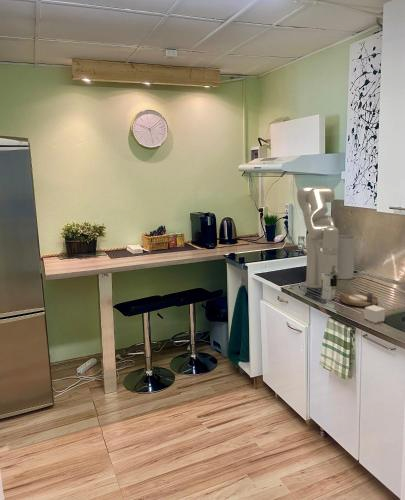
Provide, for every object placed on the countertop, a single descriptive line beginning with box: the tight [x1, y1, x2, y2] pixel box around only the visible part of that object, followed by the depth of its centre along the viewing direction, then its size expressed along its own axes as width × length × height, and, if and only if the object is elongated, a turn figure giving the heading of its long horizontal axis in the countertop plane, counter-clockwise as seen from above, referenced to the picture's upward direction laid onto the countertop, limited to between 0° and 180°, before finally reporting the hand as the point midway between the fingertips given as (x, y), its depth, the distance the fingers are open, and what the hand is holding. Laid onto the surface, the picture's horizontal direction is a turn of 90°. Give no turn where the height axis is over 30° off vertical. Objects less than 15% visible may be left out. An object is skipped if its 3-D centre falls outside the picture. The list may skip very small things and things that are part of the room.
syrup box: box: [320, 272, 337, 301], centre depth 217 cm, size 6×6×14 cm
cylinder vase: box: [337, 235, 356, 281], centre depth 254 cm, size 12×12×25 cm
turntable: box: [339, 291, 378, 307], centre depth 211 cm, size 18×18×6 cm
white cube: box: [363, 304, 386, 322], centre depth 188 cm, size 6×6×6 cm
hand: (329, 283), depth 217 cm, fingers open, 9 cm apart
